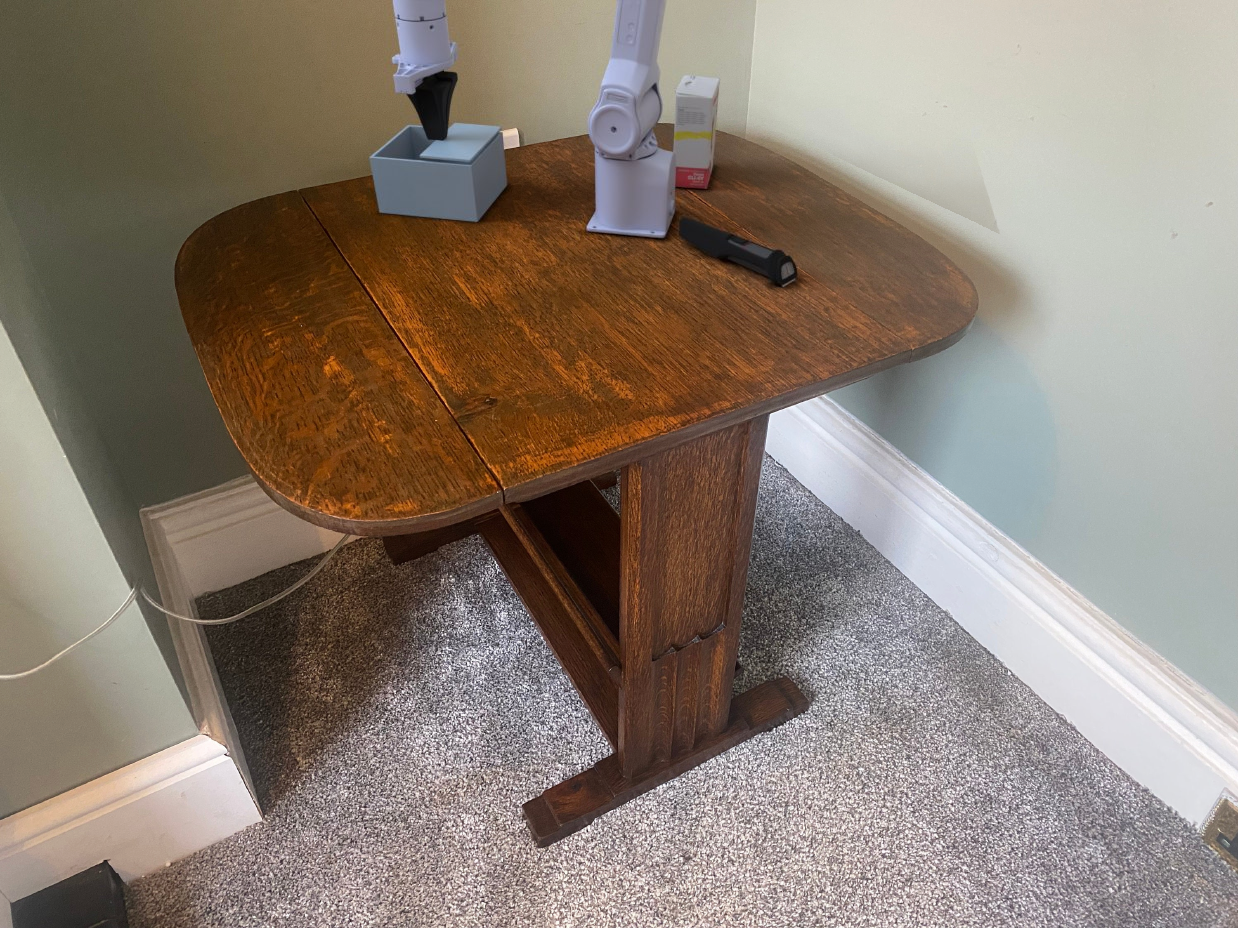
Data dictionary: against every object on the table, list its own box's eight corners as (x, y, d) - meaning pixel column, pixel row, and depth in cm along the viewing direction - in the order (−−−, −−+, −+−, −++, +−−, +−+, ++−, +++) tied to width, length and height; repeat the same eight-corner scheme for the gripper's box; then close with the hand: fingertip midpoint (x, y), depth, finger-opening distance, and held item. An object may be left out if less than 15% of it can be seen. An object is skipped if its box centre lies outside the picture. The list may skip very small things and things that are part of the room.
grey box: (507, 185, 112) (502, 132, 108) (477, 222, 103) (471, 166, 99) (416, 177, 114) (408, 125, 110) (379, 212, 105) (369, 157, 101)
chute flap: (501, 129, 107) (501, 126, 107) (470, 162, 99) (470, 159, 98) (455, 125, 108) (454, 122, 108) (419, 157, 100) (419, 155, 99)
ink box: (707, 190, 111) (714, 96, 103) (670, 187, 112) (674, 93, 104) (714, 166, 117) (721, 76, 110) (679, 164, 118) (683, 74, 111)
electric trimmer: (692, 236, 101) (693, 210, 99) (799, 278, 92) (803, 251, 90) (670, 245, 99) (671, 220, 97) (778, 290, 90) (781, 262, 88)
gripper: (412, 0, 101) (428, 117, 110) (359, 29, 90) (382, 157, 99) (468, 3, 100) (480, 121, 109) (421, 33, 89) (439, 161, 98)
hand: (437, 138), depth 104 cm, fingers closed, pressing on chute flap
